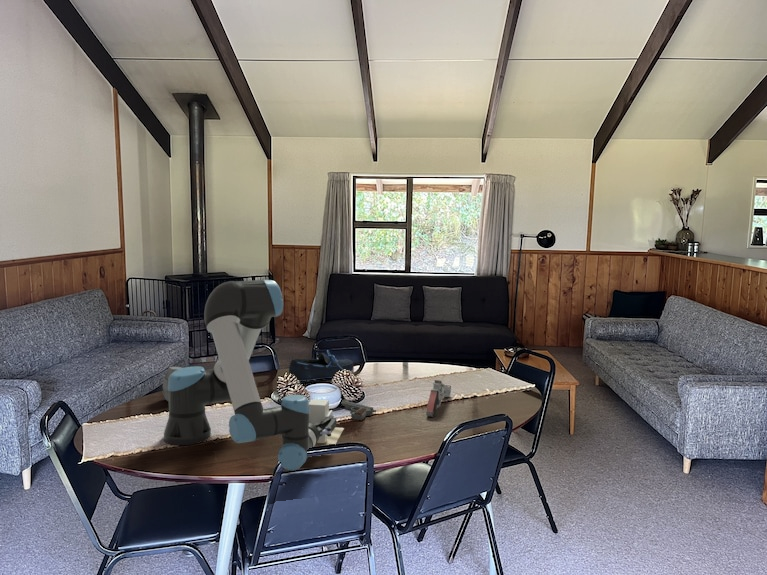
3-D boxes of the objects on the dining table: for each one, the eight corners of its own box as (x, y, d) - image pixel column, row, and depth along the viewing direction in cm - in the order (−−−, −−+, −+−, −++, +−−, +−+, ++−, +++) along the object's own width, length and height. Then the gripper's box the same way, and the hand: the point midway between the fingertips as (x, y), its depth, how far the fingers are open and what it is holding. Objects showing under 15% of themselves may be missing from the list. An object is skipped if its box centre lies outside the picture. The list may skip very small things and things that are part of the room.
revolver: (424, 415, 219) (428, 376, 222) (440, 420, 245) (444, 385, 249) (433, 416, 217) (438, 377, 221) (448, 421, 244) (452, 386, 248)
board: (332, 453, 184) (332, 437, 183) (295, 450, 185) (295, 435, 185) (344, 431, 204) (344, 416, 203) (311, 429, 205) (311, 415, 204)
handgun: (324, 412, 225) (344, 405, 235) (361, 422, 214) (380, 414, 224) (324, 405, 225) (344, 398, 235) (361, 415, 214) (380, 407, 223)
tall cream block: (324, 443, 186) (325, 405, 185) (307, 442, 187) (307, 404, 186) (328, 436, 192) (328, 400, 191) (311, 435, 193) (311, 399, 192)
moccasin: (360, 374, 281) (360, 350, 280) (301, 386, 258) (301, 361, 257) (343, 368, 292) (343, 346, 290) (284, 380, 269) (284, 355, 267)
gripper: (273, 448, 173) (294, 422, 196) (335, 452, 171) (349, 425, 193) (273, 424, 172) (294, 401, 195) (335, 428, 170) (349, 404, 193)
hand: (321, 413), depth 194 cm, fingers closed on tall cream block, 6 cm apart
